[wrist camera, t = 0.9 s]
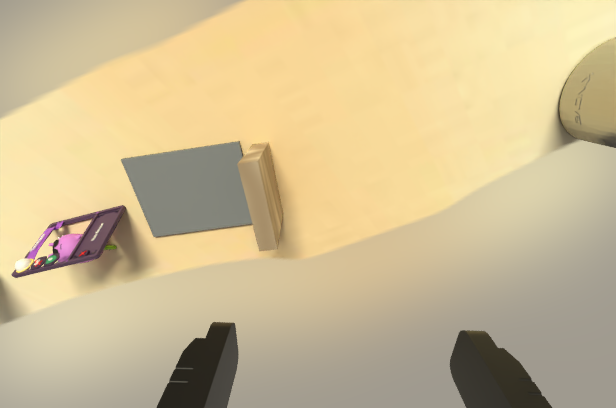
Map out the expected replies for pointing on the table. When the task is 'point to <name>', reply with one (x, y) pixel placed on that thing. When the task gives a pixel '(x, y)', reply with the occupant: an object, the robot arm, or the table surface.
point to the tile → (262, 195)
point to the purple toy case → (73, 243)
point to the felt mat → (190, 189)
